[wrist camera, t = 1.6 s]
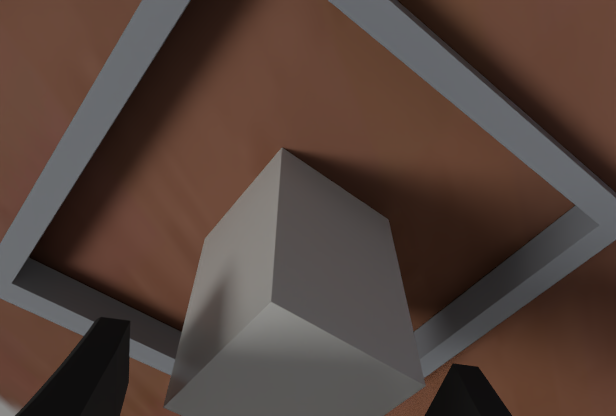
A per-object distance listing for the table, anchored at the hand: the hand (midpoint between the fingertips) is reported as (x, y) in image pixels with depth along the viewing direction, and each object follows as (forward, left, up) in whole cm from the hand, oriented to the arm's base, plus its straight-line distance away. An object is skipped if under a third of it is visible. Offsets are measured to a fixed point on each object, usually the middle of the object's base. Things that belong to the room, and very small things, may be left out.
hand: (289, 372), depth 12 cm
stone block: (0, 0, -5) cm, 5 cm away
